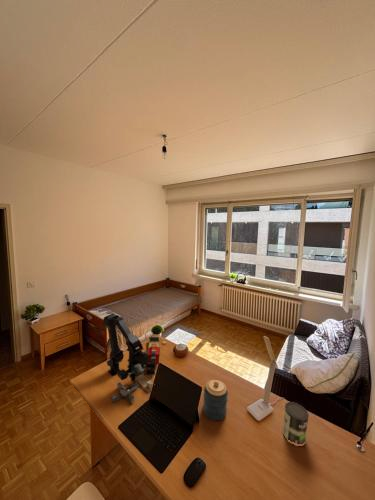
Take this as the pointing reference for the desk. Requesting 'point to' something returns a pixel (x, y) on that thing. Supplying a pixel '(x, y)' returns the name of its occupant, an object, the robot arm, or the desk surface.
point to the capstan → (125, 392)
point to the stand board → (144, 383)
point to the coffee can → (295, 422)
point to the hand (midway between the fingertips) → (132, 381)
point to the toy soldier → (152, 355)
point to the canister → (215, 400)
